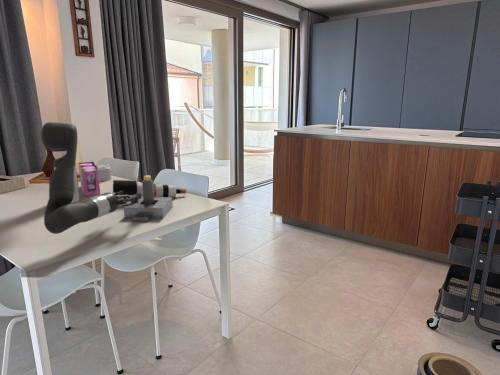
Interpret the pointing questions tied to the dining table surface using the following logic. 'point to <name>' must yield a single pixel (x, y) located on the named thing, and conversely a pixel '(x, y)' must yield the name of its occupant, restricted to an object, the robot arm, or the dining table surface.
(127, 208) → the housing
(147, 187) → the grey bottle
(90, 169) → the gum box
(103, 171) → the lumpy-topped squat cylinder
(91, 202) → the robot arm
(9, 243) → the dining table surface
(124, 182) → the banded tapered cylinder
